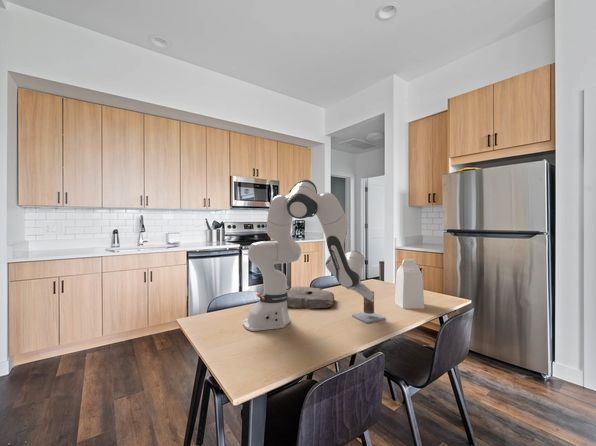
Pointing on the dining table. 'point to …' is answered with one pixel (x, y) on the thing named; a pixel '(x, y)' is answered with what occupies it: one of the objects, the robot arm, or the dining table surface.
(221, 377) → the dining table surface
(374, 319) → the mat
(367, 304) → the roller
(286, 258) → the robot arm
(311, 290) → the stone slab
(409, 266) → the milk
